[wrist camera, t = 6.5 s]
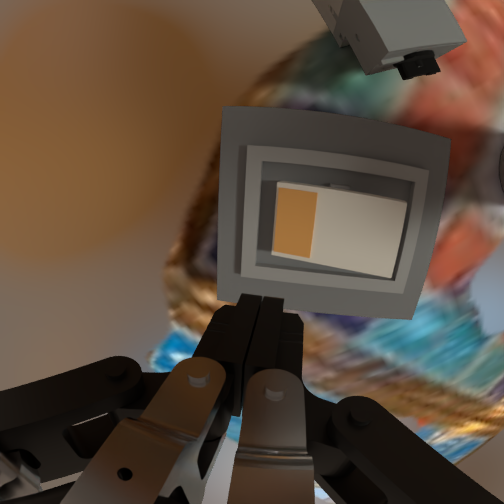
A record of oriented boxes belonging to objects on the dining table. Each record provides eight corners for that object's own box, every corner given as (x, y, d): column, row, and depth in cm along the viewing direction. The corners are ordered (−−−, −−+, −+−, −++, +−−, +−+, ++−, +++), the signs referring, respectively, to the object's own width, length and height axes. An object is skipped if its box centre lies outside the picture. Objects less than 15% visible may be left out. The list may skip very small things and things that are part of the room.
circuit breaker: (364, 98, 24) (420, 60, 11) (305, -9, 20) (304, -94, 7) (423, 83, 22) (503, 51, 8) (364, -20, 18) (393, -96, 5)
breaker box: (425, 138, 24) (455, 139, 18) (396, 292, 31) (413, 324, 25) (237, 113, 27) (220, 104, 21) (230, 274, 34) (214, 304, 27)
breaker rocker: (404, 200, 19) (407, 203, 18) (390, 272, 22) (391, 279, 20) (281, 180, 23) (276, 182, 22) (275, 250, 25) (270, 255, 24)
